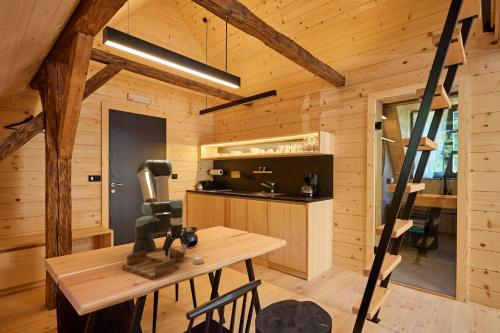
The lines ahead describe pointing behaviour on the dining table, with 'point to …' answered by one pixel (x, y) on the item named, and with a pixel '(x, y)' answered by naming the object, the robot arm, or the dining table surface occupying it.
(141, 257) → the cradle
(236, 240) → the dining table surface
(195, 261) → the beige round lump
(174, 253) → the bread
